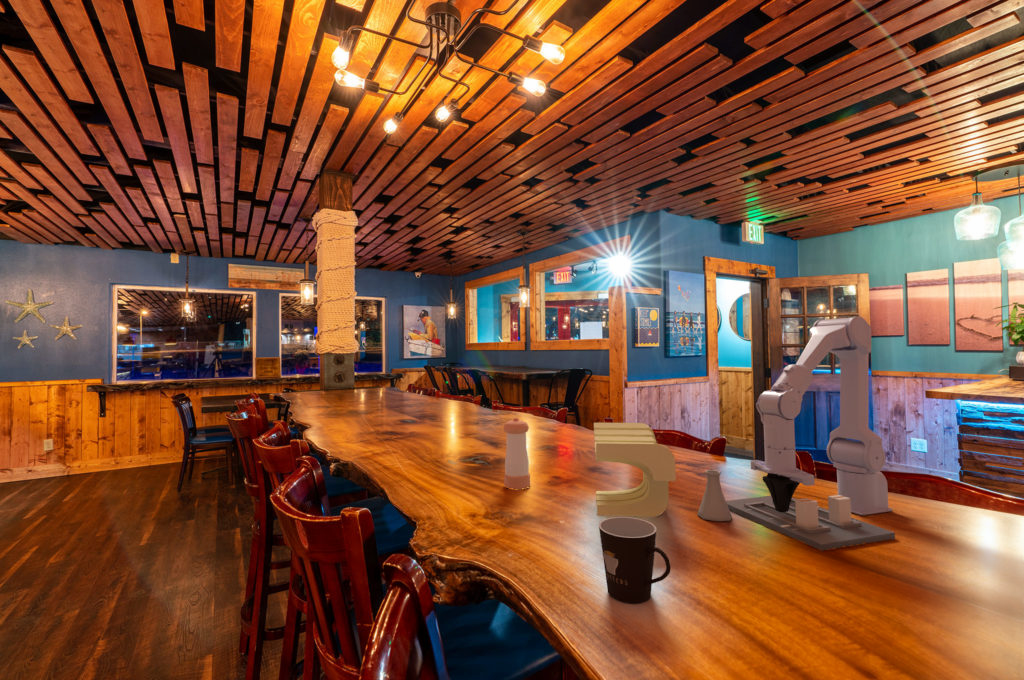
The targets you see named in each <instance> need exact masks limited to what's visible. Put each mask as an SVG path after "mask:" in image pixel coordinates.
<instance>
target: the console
mask: <svg viewBox="0 0 1024 680" xmlns="http://www.w3.org/2000/svg"><path fill="white" fill-rule="evenodd" d="M796 499H797V498H794V497H792V499H791V502H790V506H789V510H788V512H778V511H776V509H775V506H774V503H773V499H772V497H771V495H765V496H764V495H763V496H757V497H756V496H755V497H746V498H739V499H731V500H726V503H727V505H728V508H729V510H730V512H732V513H735V514H737V515H739V516H741V517H744V518H746V519H748V520H751V521H753V522H755V523H757V524H760V525H761V526H764V527H766V528H769V529H771V530H773V531H775V532H777V531H778V533H780V534H782V535H784V534H785V535H784V536H787V537H789V536H790V537H789V538H791V537H792V539H793V538H795V539H794V540H796V539H797V540H796V541H798V540H799V541H798V542H800V541H802V542H804V543H803V544H805V543H806V544H805V545H807V544H808V545H807V546H809V545H810V546H809V547H811V546H813V547H812V548H814V549H816V548H817V550H818V549H820V550H819V551H821V550H822V551H821V552H824V551H823V550H826V551H828V550H827V549H832V550H834V549H833V548H838V549H840V548H839V547H843V546H850V545H856V546H858V545H857V544H862V545H864V544H863V543H868V544H871V543H870V542H874V543H877V542H876V541H879V542H883V541H882V540H885V541H890V540H889V539H891V540H895V539H896V533H895V531H891V530H888V529H885V528H882V527H880V526H877V525H874V524H871V523H868V522H865V521H863V520H859V519H856V518H853V517H851V522H849V523H842V524H838V523H835V522H832V521H829V510H828V509H826V508H824V507H821V506H818V523H819V527H816V528H809V529H807V528H804V527H802V526H799V525H797V524H796V506H795V500H796ZM802 542H801V543H802ZM850 547H851V546H850Z"/></svg>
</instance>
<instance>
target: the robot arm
mask: <svg viewBox="0 0 1024 680" xmlns="http://www.w3.org/2000/svg"><path fill="white" fill-rule="evenodd" d="M829 353H832V354H834V355H835V356H837V358H839V360H840V361H839V362H840V368H839V369H840V370H839V371H840V373H839V375H840V382H839V385H840V387H839V388H840V389H839V393H840V394H839V402H840V403H839V405H840V406H839V426H837V428H835V429H833V430H831V432H830V433H829V440H828V443H827V446H826V455H827V458H828V460H829V461H830V462H831V463H832V464H833V468H836V478H837V479H836V480H837V482H836V483H837V485H836V486H837V495H841V496H845V497H848V498H850V501H851V513H853V514H856V515H860V516H868V515H874V514H880V513H881V514H882V513H886V512H887V513H888V512H893V508H891V507H889V495H888V494H889V492H888V490H889V489H888V480H887V479H886V476H885V475H884V474H883V473H882V472H881V470H882V469H883V468H884V466H885V464H886V452H885V450H884V447H883V439H882V437H881V436H879V435H878V434H877V433H876V432H874V431H873V430H871V429H870V428H869V359H870V358H869V354H871V353H872V326H871V325H870V324H869V322H867V320H866V319H865V318H864V317H862V316H852V317H841V318H830V319H827V318H826V319H817V320H816V321H815V322H814V323H813V325H812V327H811V328H810V329H809V341H808V343H807V344H806V346H805V348H804V349H803V351H802V352H801V355H800V356H799V358H798V360H797V361H796V363H795V364H793V363H792V364H788V365H786V366H785V367H784V368H783V370H782V371H783V372H782V373H781V374H780V375H779V377H778V378H777V379H776V381H775V382H774V384H773V385H772V386H771V388H770V390H769V389H767V390H764V391H763V392H762V393H760V395H759V396H758V398H757V402H756V403H755V407H756V410H757V412H758V413H759V416H760V422H761V423H762V424H763V440H764V441H763V444H764V461H763V460H760V459H755V460H750V469H751V470H753V471H760V472H763V473H765V474H766V473H767V474H766V475H763V476H762V481H763V483H764V484H765V485H766V487H767V490H768V491H769V494H770V496H771V497H772V499H773V503H774V506H775V509H776V511H778V512H788V510H789V506H790V502H791V499H792V498H793V495H794V494H795V492H796V490H797V488H798V487H799V485H800V483H801V484H802V485H803V486H806V487H810V486H815V485H816V483H815V481H816V480H815V475H813V474H811V473H808V472H805V471H803V470H801V469H799V468H797V463H796V462H797V459H796V440H795V439H796V437H795V436H796V435H795V434H796V433H795V418H796V417H797V416H798V415H800V412H801V409H802V402H803V396H804V394H805V393H806V392H807V390H808V388H809V387H810V385H811V384H812V383H813V382H814V378H815V376H814V374H813V371H814V370H815V369H816V368H817V367H818V365H819V364H820V363H821V362H822V361H823V360H824V358H825V357H826V356H827V355H828V354H829Z"/></svg>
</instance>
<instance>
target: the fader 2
mask: <svg viewBox="0 0 1024 680" xmlns="http://www.w3.org/2000/svg"><path fill="white" fill-rule="evenodd" d="M827 506H828V507H827V508H828V509H827V510H829V521H832V522H835V523H838V524H842V523H849V522H851V518H852V512H851V501H850V498H848V497H845V496H841V495H838V494H835V495H828V496H827Z"/></svg>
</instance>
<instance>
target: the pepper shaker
mask: <svg viewBox="0 0 1024 680" xmlns="http://www.w3.org/2000/svg"><path fill="white" fill-rule="evenodd" d="M529 429H530V427H529V424H528V422H526V421H524V420H521V419H519V417H514V418H513V419H512V420H509V421H506V422H505V424H504V426H503V430H504V432H505V433H506V450H505V460H504V469H505V470H504V471H505V473H504V474H503V484H504V485H505V486H506V487H508V488H513V489H522V488H527V487H529V486H530V487H531V473H530V472H529V469H530V468H529V465H530V464H529V463H530V462H529V456H528V455H529V454H528V450H527V433H528V431H529ZM504 485H503V486H504Z"/></svg>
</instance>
